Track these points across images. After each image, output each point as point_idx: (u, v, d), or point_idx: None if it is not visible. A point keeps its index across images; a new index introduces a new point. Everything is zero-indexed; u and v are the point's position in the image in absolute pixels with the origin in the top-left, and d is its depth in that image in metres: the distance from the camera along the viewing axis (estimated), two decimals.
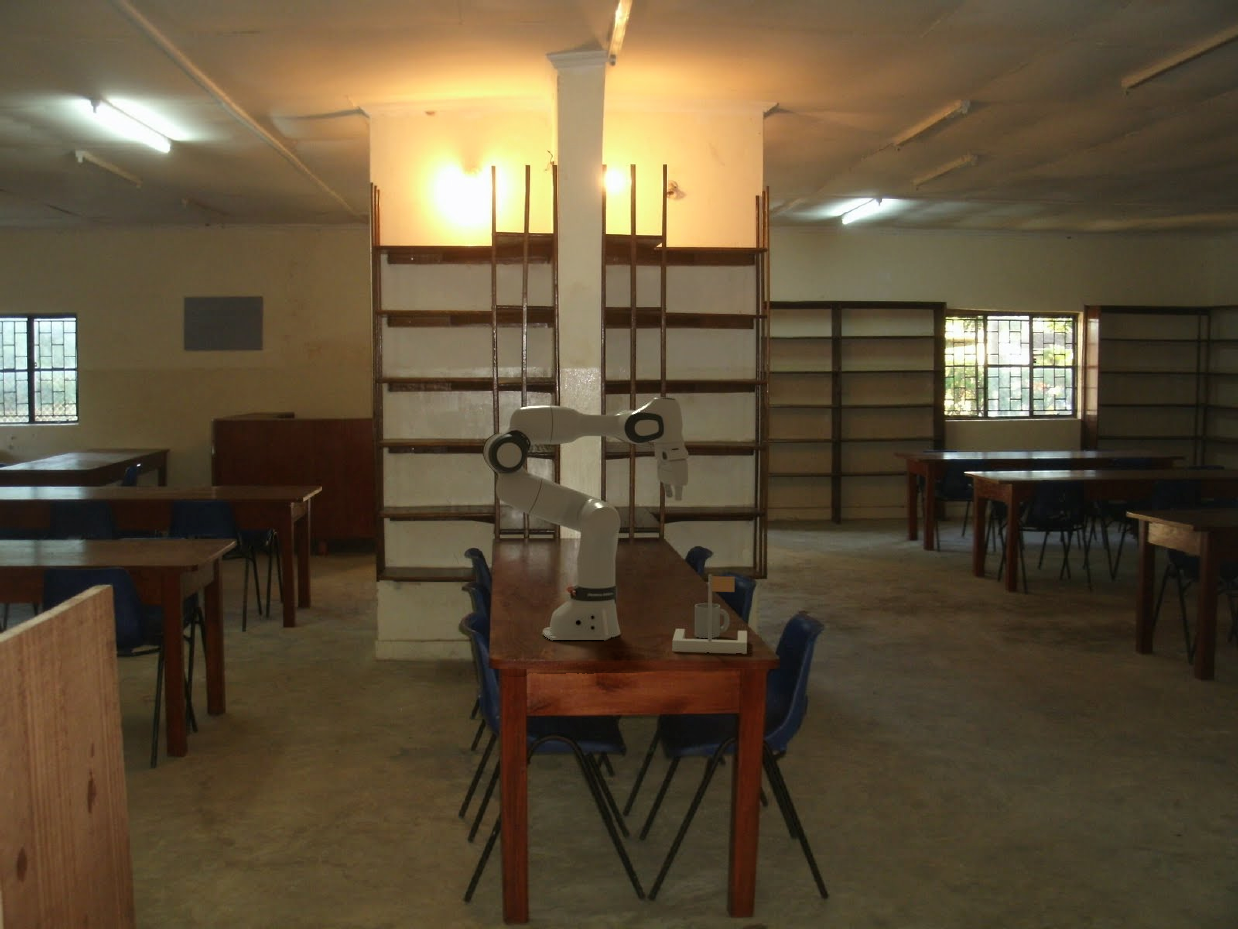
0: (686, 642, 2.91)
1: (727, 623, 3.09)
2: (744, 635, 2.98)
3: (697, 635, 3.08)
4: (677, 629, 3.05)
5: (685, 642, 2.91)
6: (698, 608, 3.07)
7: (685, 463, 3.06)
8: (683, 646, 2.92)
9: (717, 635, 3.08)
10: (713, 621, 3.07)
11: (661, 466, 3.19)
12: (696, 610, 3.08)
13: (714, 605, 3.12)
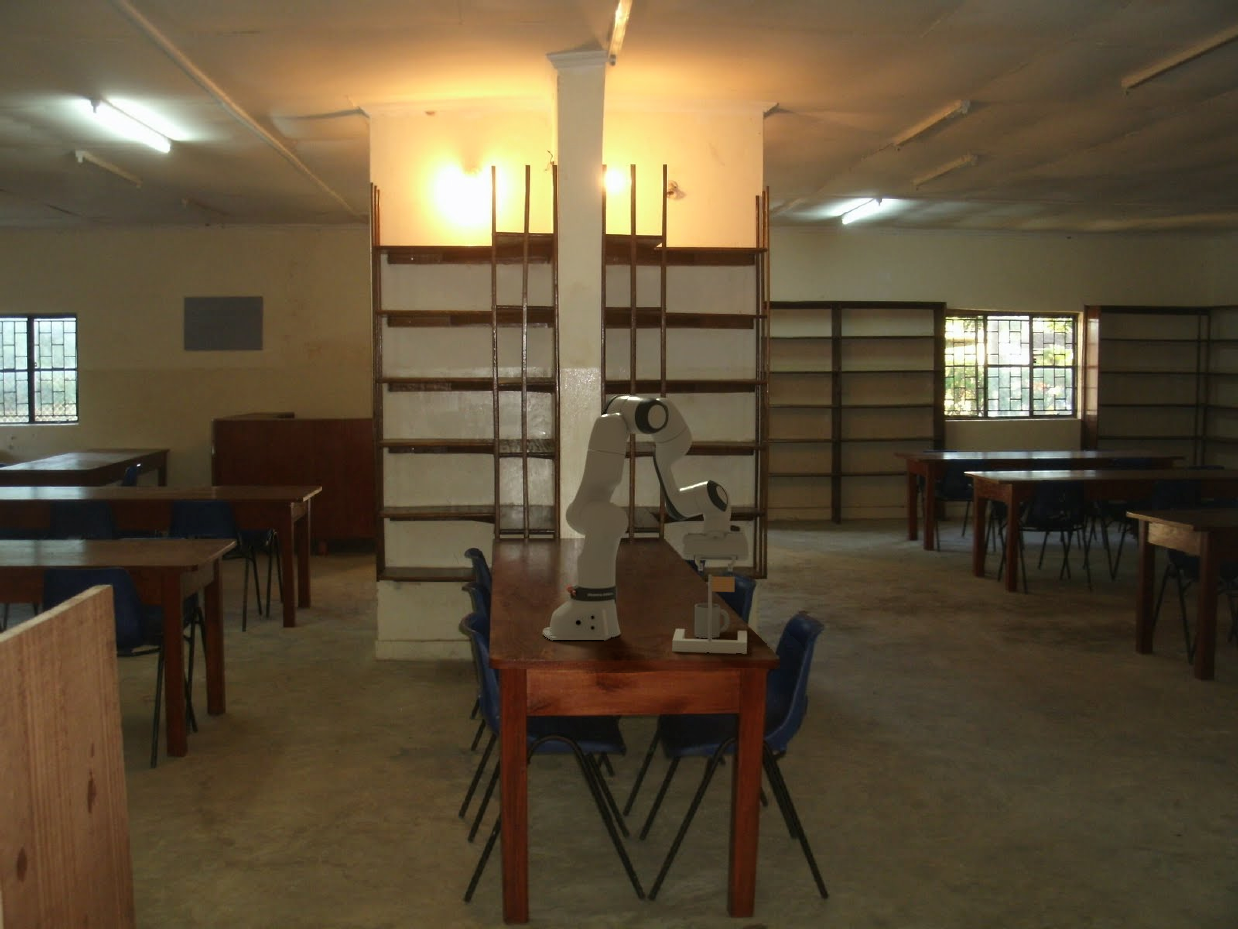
0: (686, 642, 2.91)
1: (727, 623, 3.09)
2: (744, 635, 2.98)
3: (697, 635, 3.08)
4: (677, 629, 3.05)
5: (685, 642, 2.91)
6: (698, 608, 3.07)
7: None
8: (683, 646, 2.92)
9: (717, 635, 3.08)
10: (713, 621, 3.07)
11: (699, 541, 3.34)
12: (696, 610, 3.08)
13: (714, 605, 3.12)
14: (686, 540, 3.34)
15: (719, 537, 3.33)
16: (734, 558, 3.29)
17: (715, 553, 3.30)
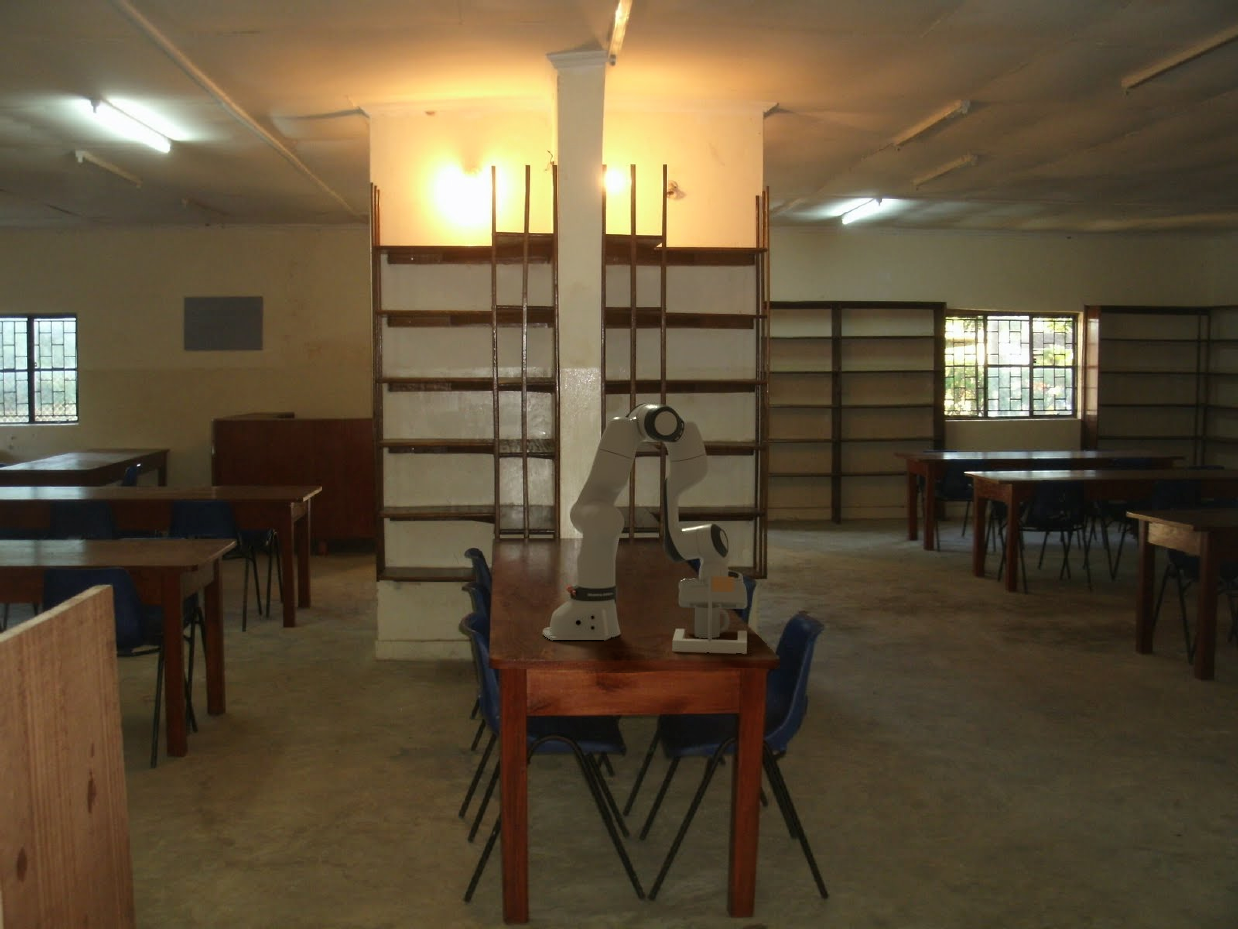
0: (686, 642, 2.91)
1: (727, 623, 3.09)
2: (744, 635, 2.98)
3: (697, 635, 3.08)
4: (677, 629, 3.05)
5: (685, 642, 2.91)
6: (698, 608, 3.07)
7: None
8: (683, 646, 2.92)
9: (717, 635, 3.08)
10: (713, 621, 3.07)
11: (696, 588, 3.19)
12: (696, 610, 3.08)
13: (714, 605, 3.12)
14: (682, 586, 3.20)
15: None
16: None
17: (712, 601, 3.16)
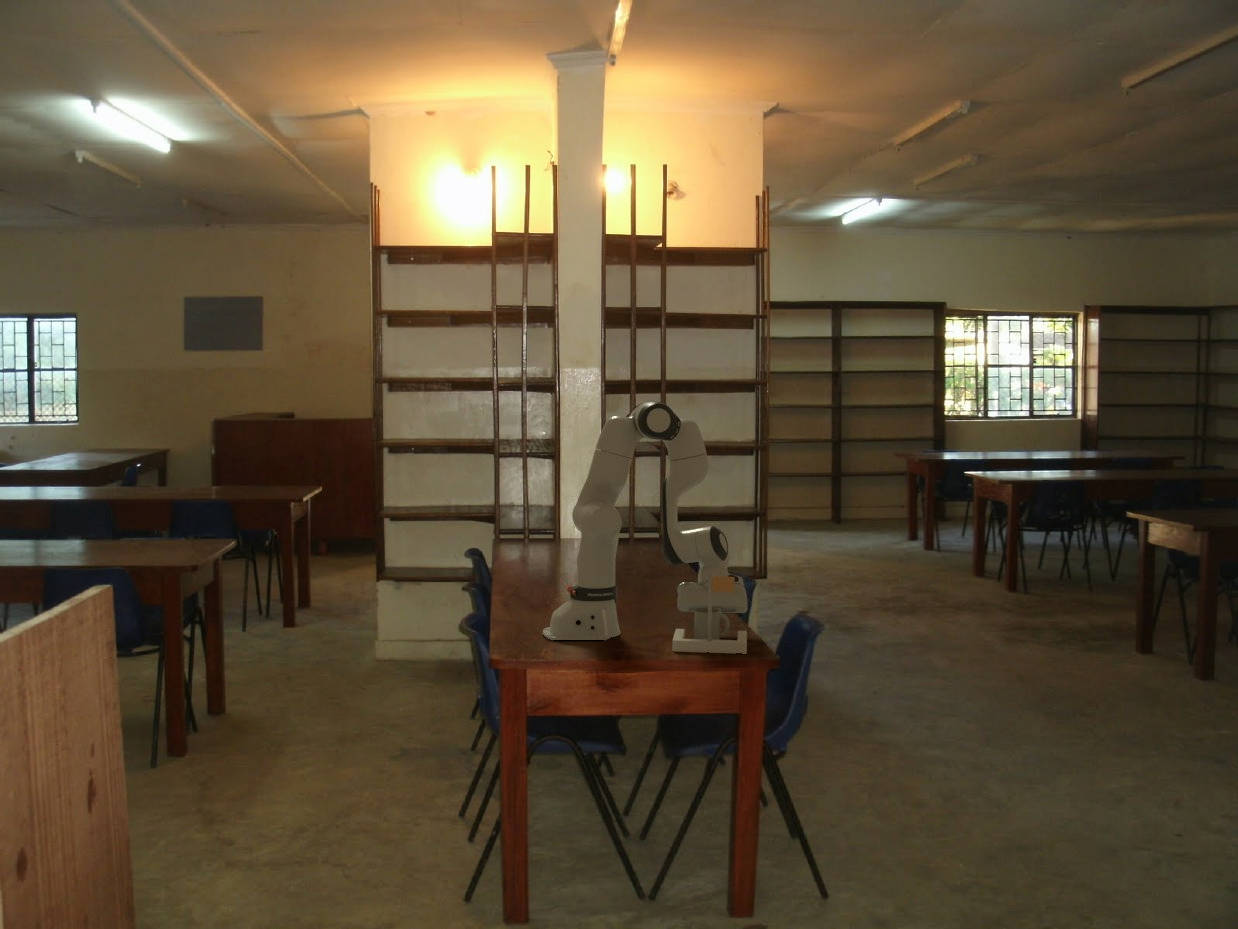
0: (686, 642, 2.91)
1: (727, 628, 3.03)
2: (744, 635, 2.98)
3: None
4: (677, 629, 3.05)
5: (685, 642, 2.91)
6: (698, 613, 3.01)
7: None
8: (683, 646, 2.92)
9: None
10: (713, 626, 3.00)
11: (695, 592, 3.13)
12: (696, 615, 3.02)
13: (714, 609, 3.06)
14: (681, 590, 3.13)
15: None
16: None
17: (712, 605, 3.09)
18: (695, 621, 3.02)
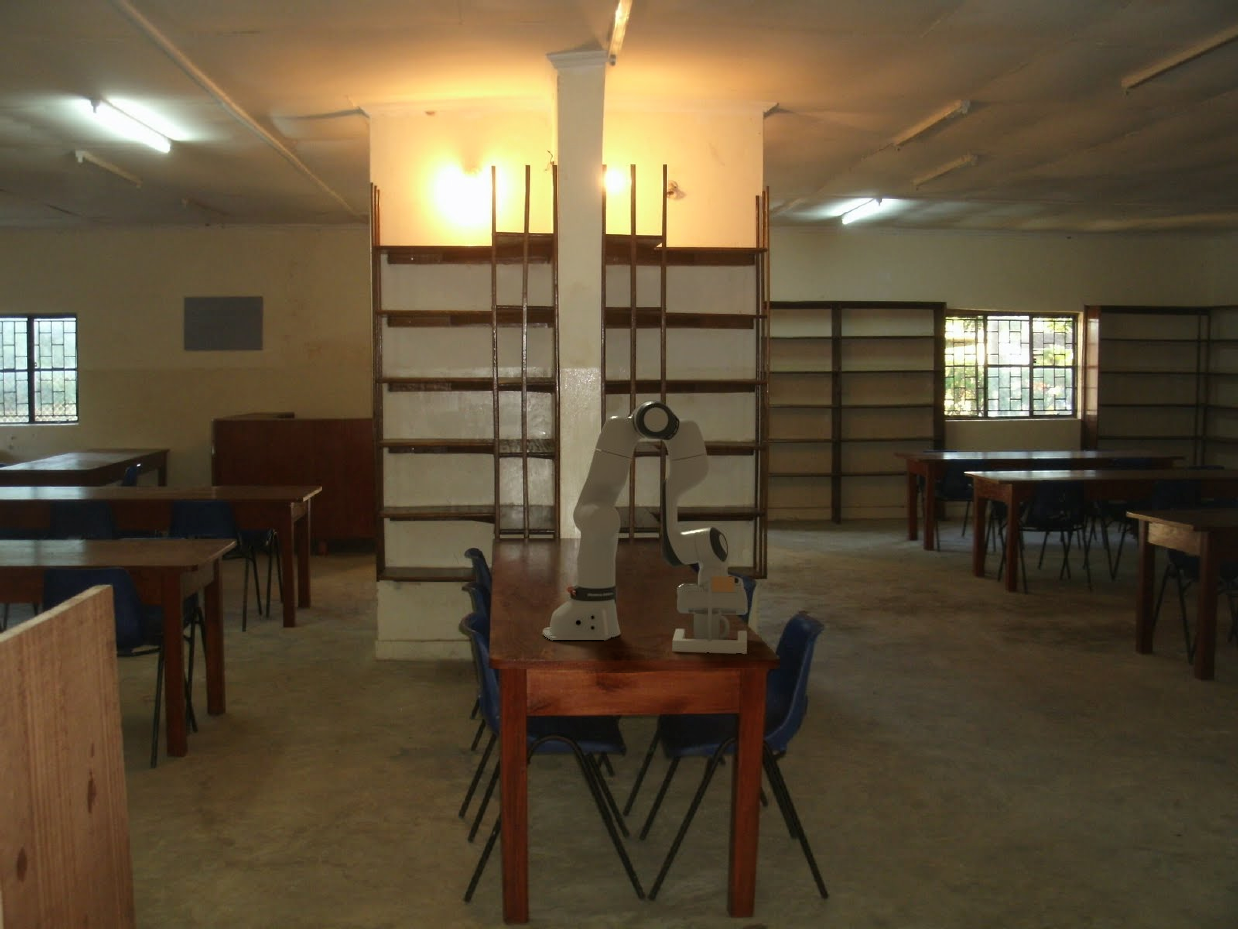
0: (686, 642, 2.91)
1: (727, 630, 3.00)
2: (744, 635, 2.98)
3: None
4: (677, 629, 3.05)
5: (685, 642, 2.91)
6: (697, 614, 2.98)
7: None
8: (683, 646, 2.92)
9: None
10: (713, 628, 2.98)
11: (694, 593, 3.11)
12: (695, 616, 2.99)
13: (713, 611, 3.03)
14: (680, 592, 3.11)
15: None
16: None
17: None
18: (695, 623, 3.00)
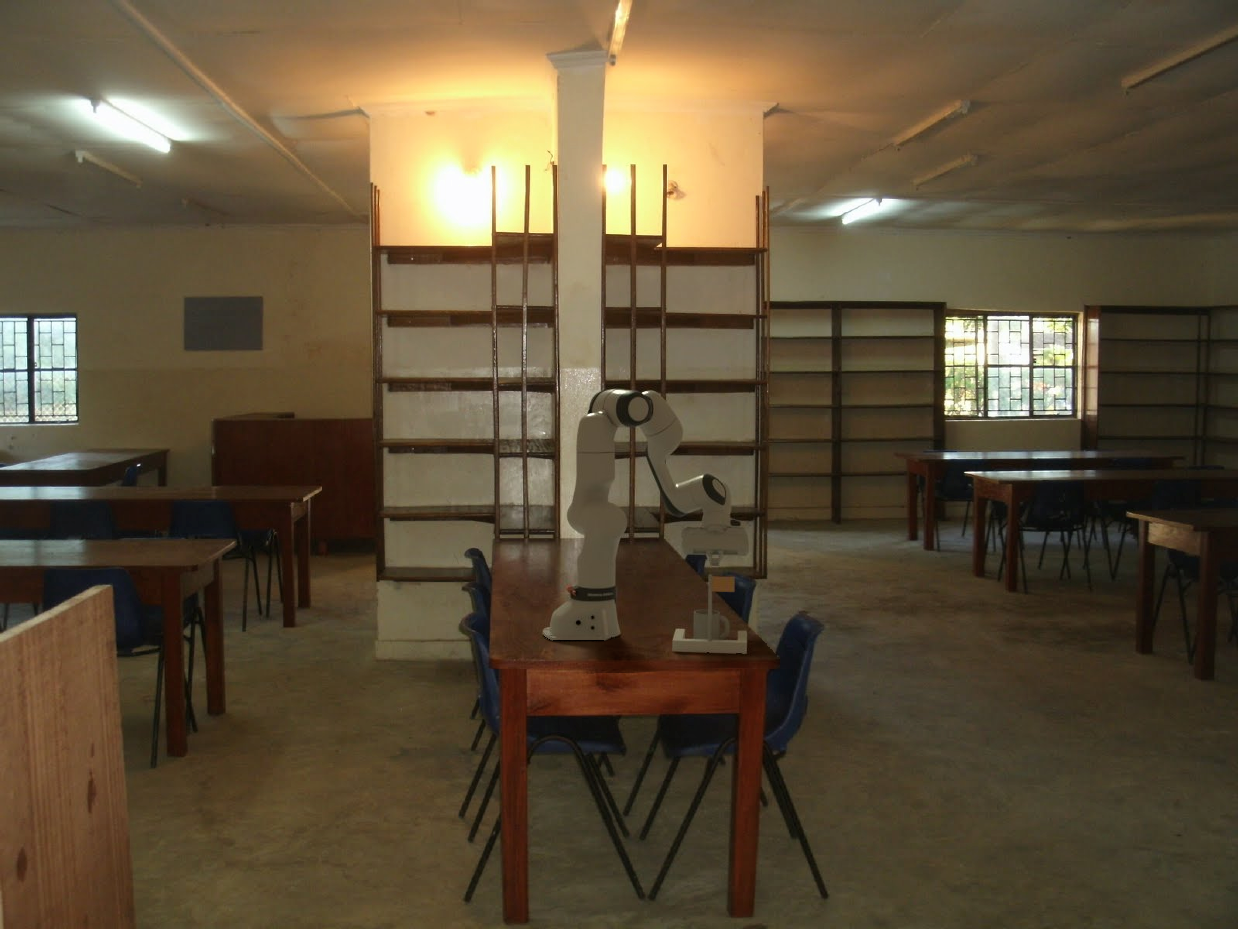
0: (686, 642, 2.91)
1: (727, 630, 3.00)
2: (744, 635, 2.98)
3: None
4: (677, 629, 3.05)
5: (685, 642, 2.91)
6: (697, 615, 2.98)
7: None
8: (683, 646, 2.92)
9: None
10: (713, 628, 2.98)
11: (698, 536, 3.26)
12: (695, 617, 2.99)
13: (713, 611, 3.03)
14: (685, 534, 3.27)
15: (719, 531, 3.25)
16: (721, 553, 3.22)
17: (715, 548, 3.23)
18: (695, 623, 3.00)
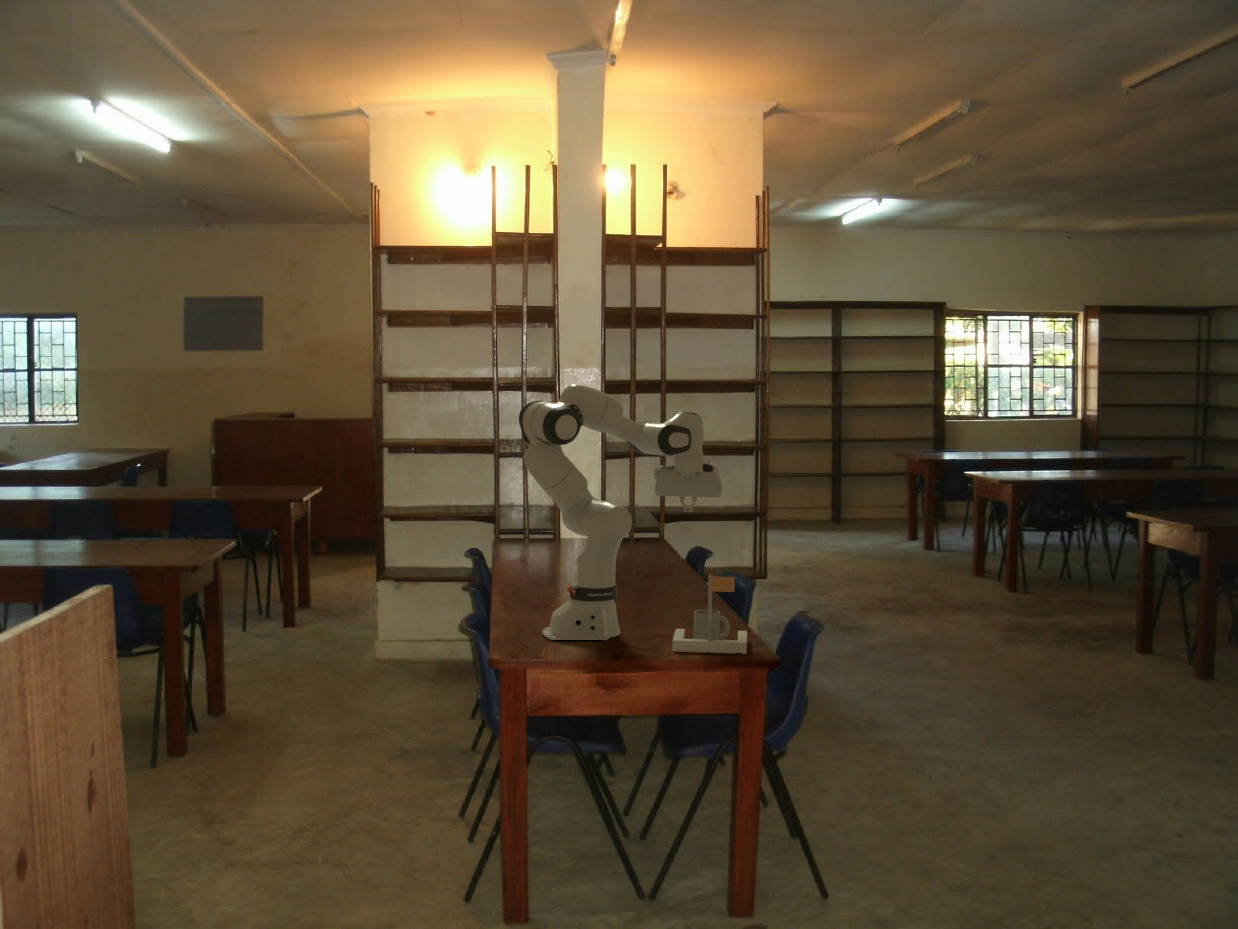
0: (686, 642, 2.91)
1: (727, 630, 3.00)
2: (744, 635, 2.98)
3: None
4: (677, 629, 3.05)
5: (685, 642, 2.91)
6: (697, 615, 2.98)
7: (719, 475, 3.25)
8: (683, 646, 2.92)
9: None
10: (713, 628, 2.98)
11: (671, 480, 3.23)
12: (695, 617, 2.99)
13: (713, 611, 3.03)
14: (657, 479, 3.24)
15: (691, 477, 3.22)
16: (694, 500, 3.23)
17: (688, 495, 3.23)
18: (695, 623, 3.00)
